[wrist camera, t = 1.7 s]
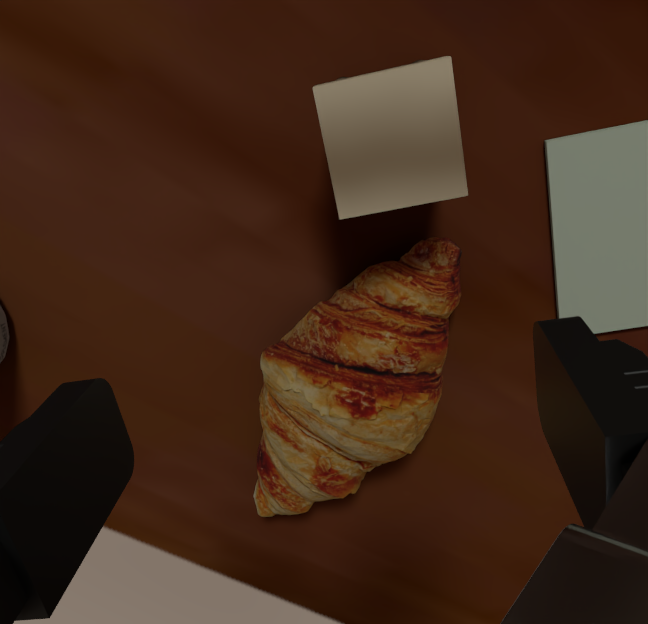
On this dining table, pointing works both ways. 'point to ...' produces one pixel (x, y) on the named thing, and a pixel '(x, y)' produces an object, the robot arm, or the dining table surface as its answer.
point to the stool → (392, 137)
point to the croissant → (356, 379)
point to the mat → (600, 225)
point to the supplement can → (3, 334)
